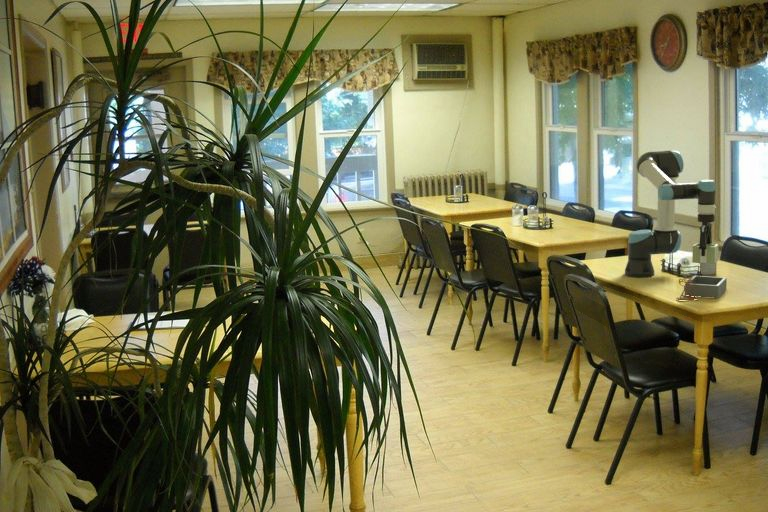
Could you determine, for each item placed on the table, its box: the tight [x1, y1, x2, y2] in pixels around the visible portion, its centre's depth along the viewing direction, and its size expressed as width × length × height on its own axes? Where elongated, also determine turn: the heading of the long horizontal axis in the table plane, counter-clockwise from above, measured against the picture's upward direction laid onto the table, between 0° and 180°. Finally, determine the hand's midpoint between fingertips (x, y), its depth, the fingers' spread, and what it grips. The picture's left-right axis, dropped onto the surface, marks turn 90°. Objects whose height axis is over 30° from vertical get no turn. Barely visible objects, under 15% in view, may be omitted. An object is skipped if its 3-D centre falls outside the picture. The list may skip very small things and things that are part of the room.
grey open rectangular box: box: [684, 275, 728, 299], centre depth 425 cm, size 15×20×6 cm
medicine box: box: [700, 261, 718, 276], centre depth 466 cm, size 8×4×9 cm, turn 84°
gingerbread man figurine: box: [676, 273, 699, 301], centre depth 412 cm, size 9×4×12 cm, turn 95°
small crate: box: [691, 242, 719, 264], centre depth 422 cm, size 10×8×8 cm
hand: (705, 260), depth 422 cm, fingers closed on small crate, 8 cm apart
